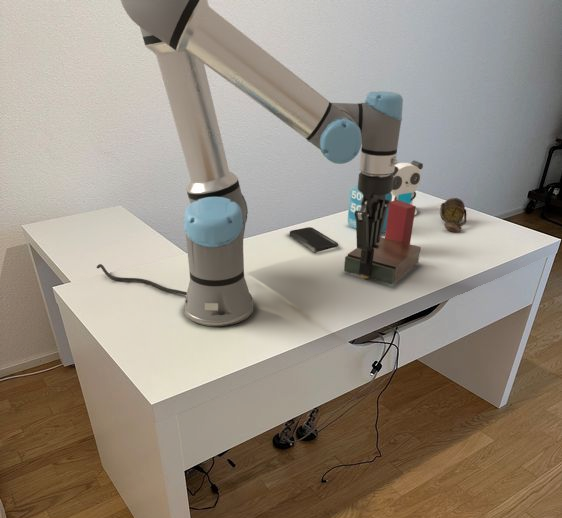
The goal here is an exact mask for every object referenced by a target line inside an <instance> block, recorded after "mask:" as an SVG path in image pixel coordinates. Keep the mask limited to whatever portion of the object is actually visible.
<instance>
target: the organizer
mask: <svg viewBox="0 0 562 518" xmlns="http://www.w3.org/2000/svg"><path fill="white" fill-rule="evenodd" d="M376 245H379V248H378V249H376V248H374V255H373V263H376V264H379V265H383V266H387V267H390V268H394V269H395V273H394V280H393V284H394V283H396V282H397V280H398V279H400V278H401V277H402V276H403V275H404V274H406V273H407V272H408V271H409V270H410V269H412V268H413V267H414V266H416V265H417V264H418V263H419V260H420V254H421V249H422V248H421V246H418V245H415V244H411V243H410V244H407V243H403V242H399V241H395V240H390V239H386V238H385V237H382V236H381V238H380V242H379V243H376ZM347 256H350V257H354V258H357V259H361V249H359V248H357V247H356V248H355V249H353V250H352V251H350V252H349V253H347Z"/></svg>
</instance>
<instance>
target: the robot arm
mask: <svg viewBox="0 0 562 518" xmlns="http://www.w3.org/2000/svg"><path fill="white" fill-rule="evenodd" d="M120 2H121V5H122V8H123V9H124V11H125V12H126V14H127V16H128V17H129V18H130V19H131V21H132V22H134V23H135V24H136V25H137V26H138V27H139V29H140V32H141V37H142V39H143V43H144V47H145V48H146V49H148V50H149V51H150V52H152V53H153V54H154V55H155V57H156V59H157V64H158V67H159V71H160V75H161V78H162V81H163V85H164V88H165V92H166V96H167V99H168V102H169V106H170V110H171V114H172V118H173V121H174V124H175V128H176V132H177V136H178V139H179V142H180V146H181V150H182V153H183V157H184V160H185V164H186V167H187V172H188V174H189V178H190V180H189V183H188V185H186V193H187V197H188V201H189V205H188V206H187V207H186V208H185V210H184V216H183V217H184V219H183V228H184V232H185V241H186V250H187V251H186V252H187V260H188V271H189V282H188V286H187V291H184V290H178V289H173V288H169V287H165V286H163V285H160V284H158V283H156V282H153V281H151V280H149V279H144V278H139V277H120V276H115V275H112V274H110V273H109V271H107V269H106V267H105V266H104V265H103V264H102V263H99V264H98V265H96V269H100V268H101V271H102V272H103V273H104V274H105V275H106V277H108V278H109V279H111V280H114V281H120V282H123V281H124V282H138V283H144V284H148V285H151V286H152V287H155V288H157V289H160V290H162V291H165V292H170V293H174V294H179V295H183V296H185V299H184V313H185V316H186V317H187V318H188V319H189V320H190V321H192V322H193V323H196V324H199V325H202V326H207V327H227V326H232V325H236V324H238V323H241V322H243V321H246V320H247V319H249V317H251V316H252V314H253V312H254V299H253V297H252V294H251V292H250V290H249V287H248V283H247V280H246V278H245V261H244V259H245V258H244V239H245V238H244V237H245V231H246V224H247V220H248V214H249V213H248V212H249V211H248V204H247V200H246V199H245V196H244V194H243V193H242V190H241V185H240V181H239V177H238V175H236V174H235V173H233V172H231V170H230V169H229V164H228V161H227V155H226V152H225V147H224V142H223V139H222V135H221V130H220V127H219V121H218V117H217V113H216V108H215V105H214V100H213V95H212V92H211V87H210V84H209V79H208V75H207V71H206V66H207V67H208V68H210V69H211V70H212V71H213V72H215V73H216V74H217V75H219V76H221V78H223V79H224V80H226V81H227V82H229V83H230V84H231V85H232V86H234V87H235V88H236V89H238V90H239V91H241V92H242V93H243V94H245V95H246V96H248V98H250V99H251V100H253V101H254V102H255V103H256V104H258V105H259V106H261V107H263V108H264V110H267V111H268V112H269V113H270V114H272V115H273V116H275V117H276V118H277V119H279V120H280V121H281V122H282V123H284V124H285V125H287V126H288V127H289V128H291V129H292V130H294V131H295V132H296V133H298V134H299V136H302V137H303V138H305V139H306V141H307V142H309V143H310V144H312V145H313V146H315V148H317V149H318V150H320V152H321V154H322V155H323V156H324V157H325V158H326V159H327V160H328V161H329V162H331V163H333V164H336V165H343V164H347V163H350V162H352V160H354V159H355V158H356V157H357V156H358V154H359V153H360V157H359V158H360V159H359V166H358V167H359V168H358V169H359V171H360V172H359V173H358V180H357V185H358V190H359V191H360V192H361V193H362V194H363V198H362V201H361V209H360V211H357V210H356V211H355V218H356V228H355V233H356V248H359V249H361V259H360V268H359V274H362V275H365V276H370V275H371V272H372V264H373V255H374V248H376V249H378V248H379V245H376V243H379V242H380V238H381V237H382V233H383V232H382V229H383V224H384V220H385V216H386V211H387V208H388V206H389V203H390V201H389V200H386V199H385V196H386V194H389V193H390V192H391V191H392V187H393V179H394V176H393V174H392V173H393V172H394V170H395V165H396V164H398V159H397V154H398V147H399V138H400V131H401V125H402V121H403V116H402V115H403V107H404V99H403V96H402V95H401V94H400V93H397V92H394V91H381V90H380V91H370V92H368V93H367V95H366V96H365V100H364V102H361V103H359V102H358V103H352V102H351V103H348V102H330V100H328V99H327V98H326V97H324V96H323V95H322V94H320V93H319V92H318V91H317V90H316V89H314V88H313V87H311V86H310V85H309V84H308V83H306V81H304V80H303V79H301V78H300V77H299V76H298V75H297V74H295V73H294V72H293V71H291V70H290V69H289V68H287V66H285V65H284V64H283V63H281V62H280V61H279V60H277V59H276V57H274V56H272V55H271V54H270V53H269V52H267V51H266V50H265V49H263V48H262V46H260V45H259V44H257V43H256V42H255V41H253V40H252V39H251V38H250V37H249V36H247V35H246V34H245V33H243V32H242V31H241V30H240V29H238V28H237V27H236V26H234V25H233V24H232V23H231V22H230V21H228V19H225V17H224V16H222V15H220V14H219V13H218V12H217V11H215V10H214V9H213V8H211V6H210V5H209V1H208V0H120Z"/></svg>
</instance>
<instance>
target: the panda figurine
mask: <svg viewBox="0 0 562 518" xmlns="http://www.w3.org/2000/svg"><path fill="white" fill-rule="evenodd" d="M423 168H424V163H422V162H419V161H418V160H412V161H411V162H410V163H409V162H399V163H396V164H395V170H394V172H393V173H392V174H393V176H394V179H393V187H392V191H391V194H392V201H395V200H400V201H403V202H405V203H408V204H411V205H413V202H414V200H415V198H416V197H417V192H416V191H417V189H418V188H419V186H420V183H421V177H422V175H421V170H423ZM416 215H418V210H417V208H415V215H414V216H416Z"/></svg>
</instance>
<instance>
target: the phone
mask: <svg viewBox="0 0 562 518" xmlns="http://www.w3.org/2000/svg"><path fill="white" fill-rule="evenodd" d="M289 237H290V238H292V239H294V240H295V241H297V242H298V243H299V244H301V245H303V246H304V247H306V248H307V249H309V250H310V251H312V252H313V253H315V254H316V253H320V252H324V251H327V250H330V249H334V248H337V247H338V246H339V243H338V242H337V241H335V240H333V239H332V238H330V237H328V236H327V235H325V234H324V233H322V232H321V231H319V230H317V229H315V228H314V227H312V226H311V227H310V226H308V227H307V226H306V227H303V228H296V229H292V230H290V231H289Z"/></svg>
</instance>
